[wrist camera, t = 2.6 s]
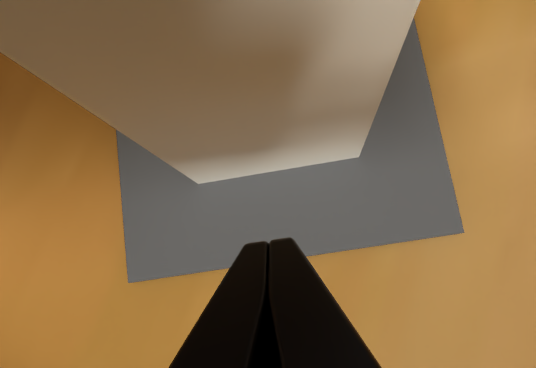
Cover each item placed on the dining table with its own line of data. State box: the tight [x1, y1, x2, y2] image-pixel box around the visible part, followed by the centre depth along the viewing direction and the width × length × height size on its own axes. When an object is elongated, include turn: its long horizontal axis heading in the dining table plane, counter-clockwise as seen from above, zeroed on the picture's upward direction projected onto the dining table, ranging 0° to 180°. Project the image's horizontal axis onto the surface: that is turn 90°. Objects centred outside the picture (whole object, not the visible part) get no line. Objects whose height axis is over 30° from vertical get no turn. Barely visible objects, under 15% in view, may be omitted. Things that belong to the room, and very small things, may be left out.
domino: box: [0, 0, 420, 184], centre depth 10 cm, size 2×6×12 cm, turn 99°
